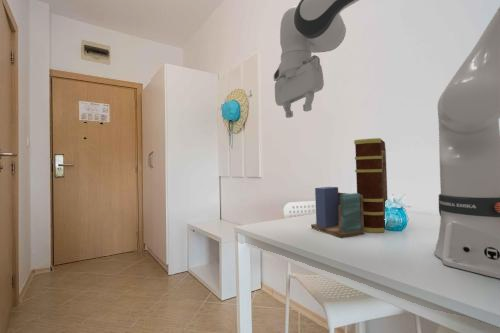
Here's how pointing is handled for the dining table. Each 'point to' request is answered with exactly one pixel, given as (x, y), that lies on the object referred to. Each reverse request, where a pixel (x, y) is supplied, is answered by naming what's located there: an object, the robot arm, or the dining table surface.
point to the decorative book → (372, 182)
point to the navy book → (327, 206)
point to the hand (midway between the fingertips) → (297, 114)
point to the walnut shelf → (347, 217)
